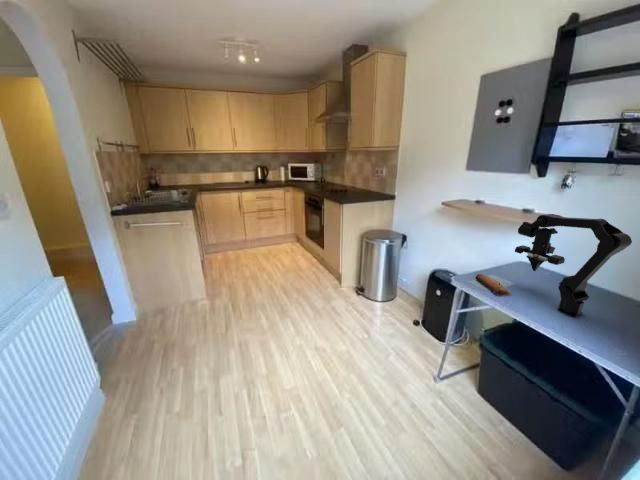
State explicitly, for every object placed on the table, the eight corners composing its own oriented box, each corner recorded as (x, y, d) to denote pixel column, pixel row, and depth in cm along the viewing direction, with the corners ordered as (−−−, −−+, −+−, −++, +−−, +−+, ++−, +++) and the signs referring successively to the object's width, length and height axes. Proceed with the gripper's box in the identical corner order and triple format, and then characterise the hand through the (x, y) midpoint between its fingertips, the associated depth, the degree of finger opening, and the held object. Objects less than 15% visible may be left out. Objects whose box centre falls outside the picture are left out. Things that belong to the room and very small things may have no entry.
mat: (515, 284, 145) (515, 283, 144) (489, 292, 137) (489, 292, 137) (492, 275, 156) (492, 274, 156) (467, 282, 149) (467, 281, 149)
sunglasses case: (513, 294, 134) (509, 284, 132) (500, 301, 134) (496, 291, 132) (489, 277, 151) (485, 268, 149) (477, 284, 151) (473, 275, 149)
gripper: (576, 243, 122) (566, 275, 127) (531, 233, 138) (524, 261, 143) (561, 247, 118) (552, 279, 123) (517, 236, 134) (510, 264, 139)
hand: (534, 270), depth 132 cm, fingers closed
